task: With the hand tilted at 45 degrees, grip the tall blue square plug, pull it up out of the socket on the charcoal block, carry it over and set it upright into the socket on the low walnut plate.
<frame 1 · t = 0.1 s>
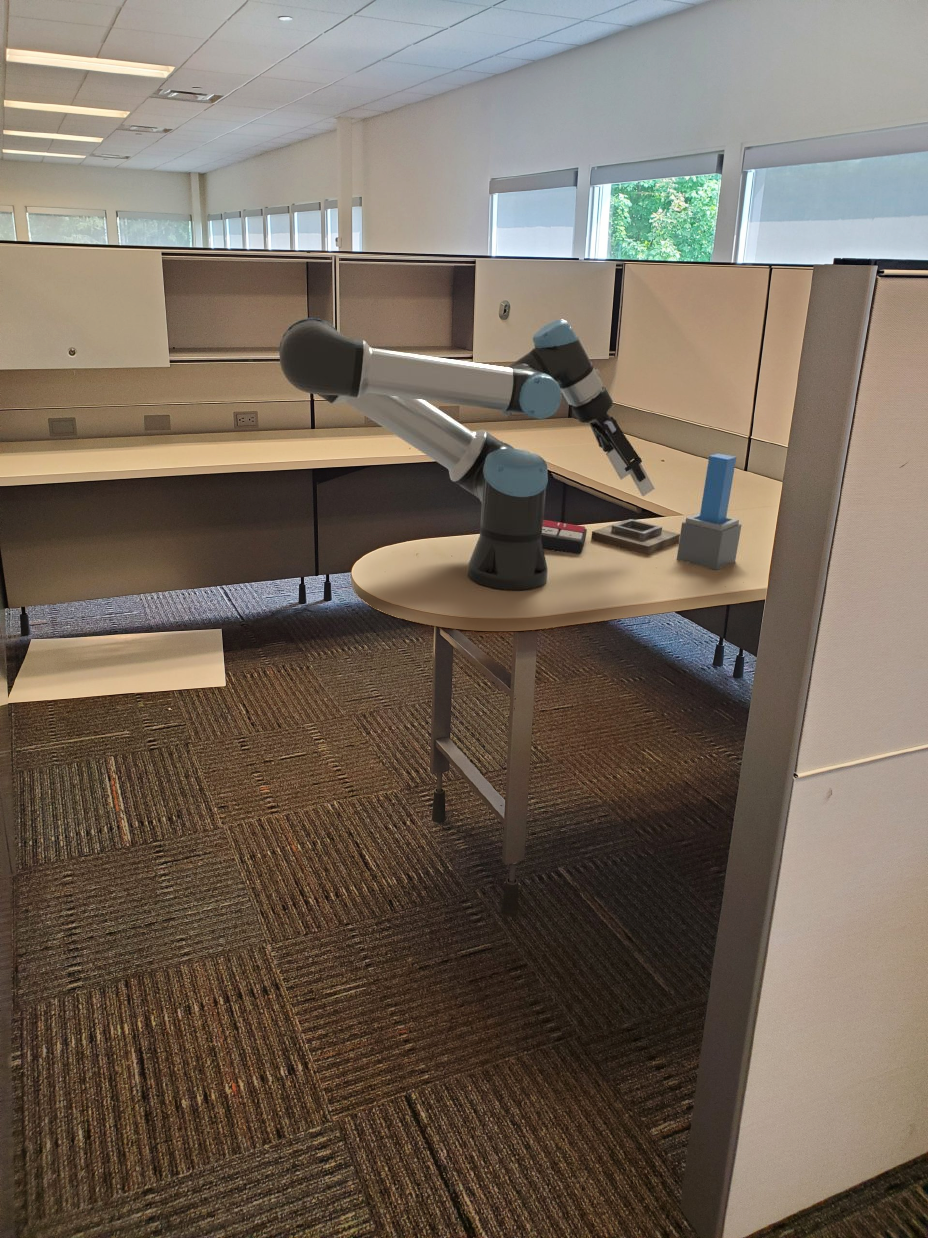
hand: (637, 483, 191), 15 cm above the table, tool tilted 35°, fingers open, 13 cm apart
upper socket block: (706, 560, 197), on the table
lower socket plate: (635, 541, 206), on the table
calculator: (548, 545, 202), on the table
plug: (711, 523, 194), point 8 cm above the table, touching upper socket block
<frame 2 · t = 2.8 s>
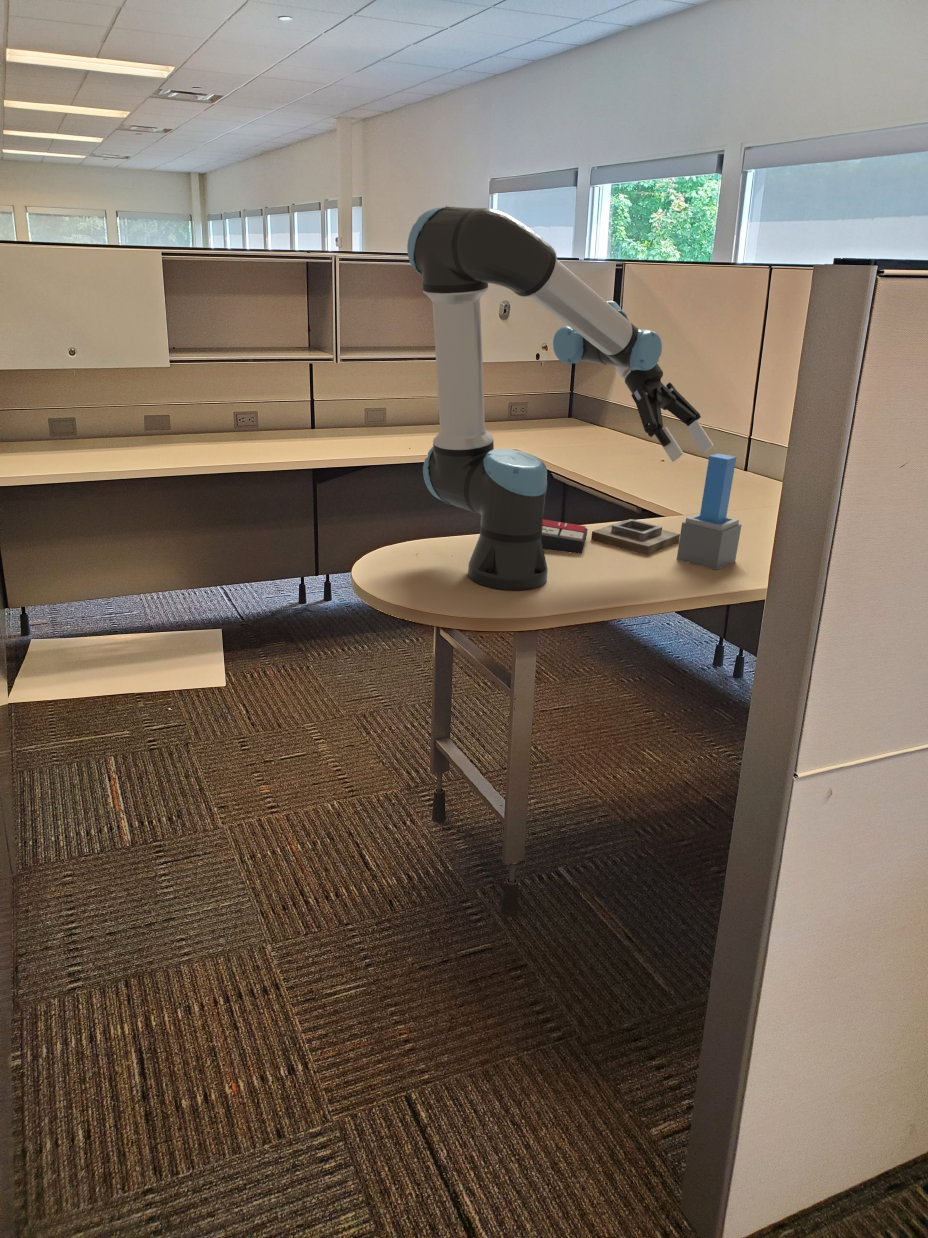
hand: (693, 453, 192), 21 cm above the table, tool tilted 45°, fingers open, 13 cm apart
nothing on the table moved.
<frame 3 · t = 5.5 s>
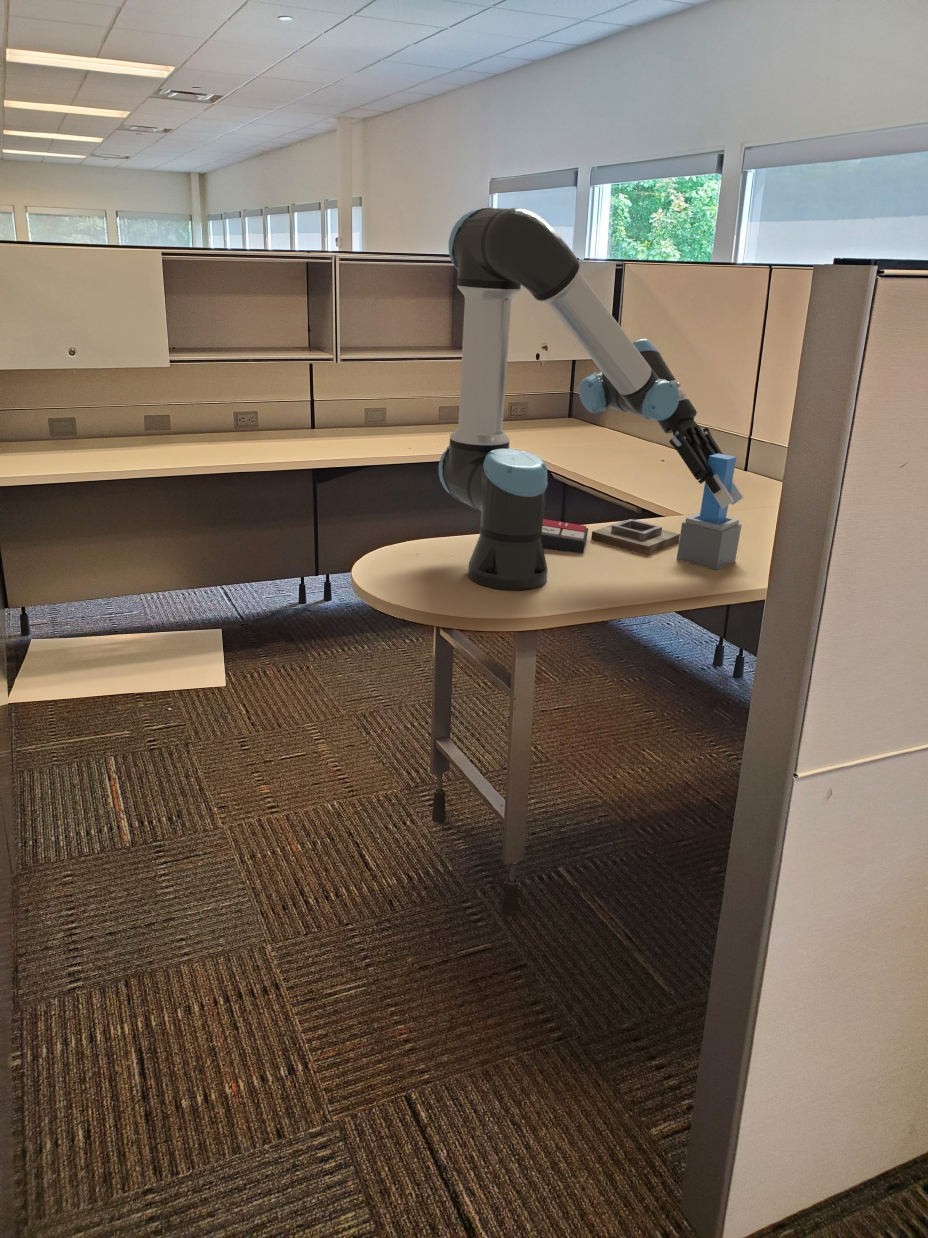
hand: (733, 502, 189), 13 cm above the table, tool tilted 45°, fingers closed on plug, 4 cm apart
plug: (711, 523, 194), point 8 cm above the table, touching gripper, upper socket block
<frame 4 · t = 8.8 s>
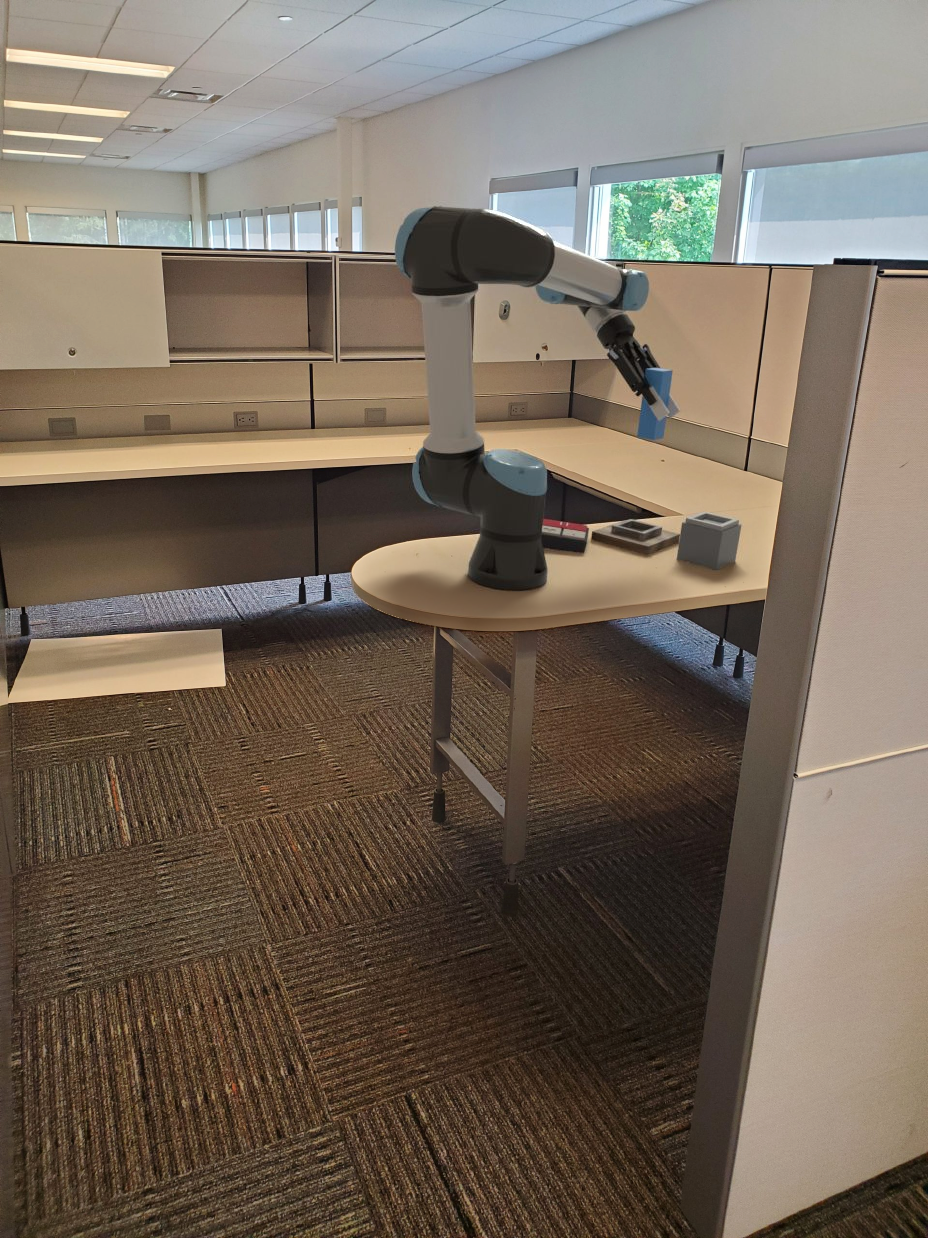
hand: (669, 415, 193), 28 cm above the table, tool tilted 45°, fingers closed on plug, 4 cm apart
plug: (650, 437, 197), point 23 cm above the table, touching gripper
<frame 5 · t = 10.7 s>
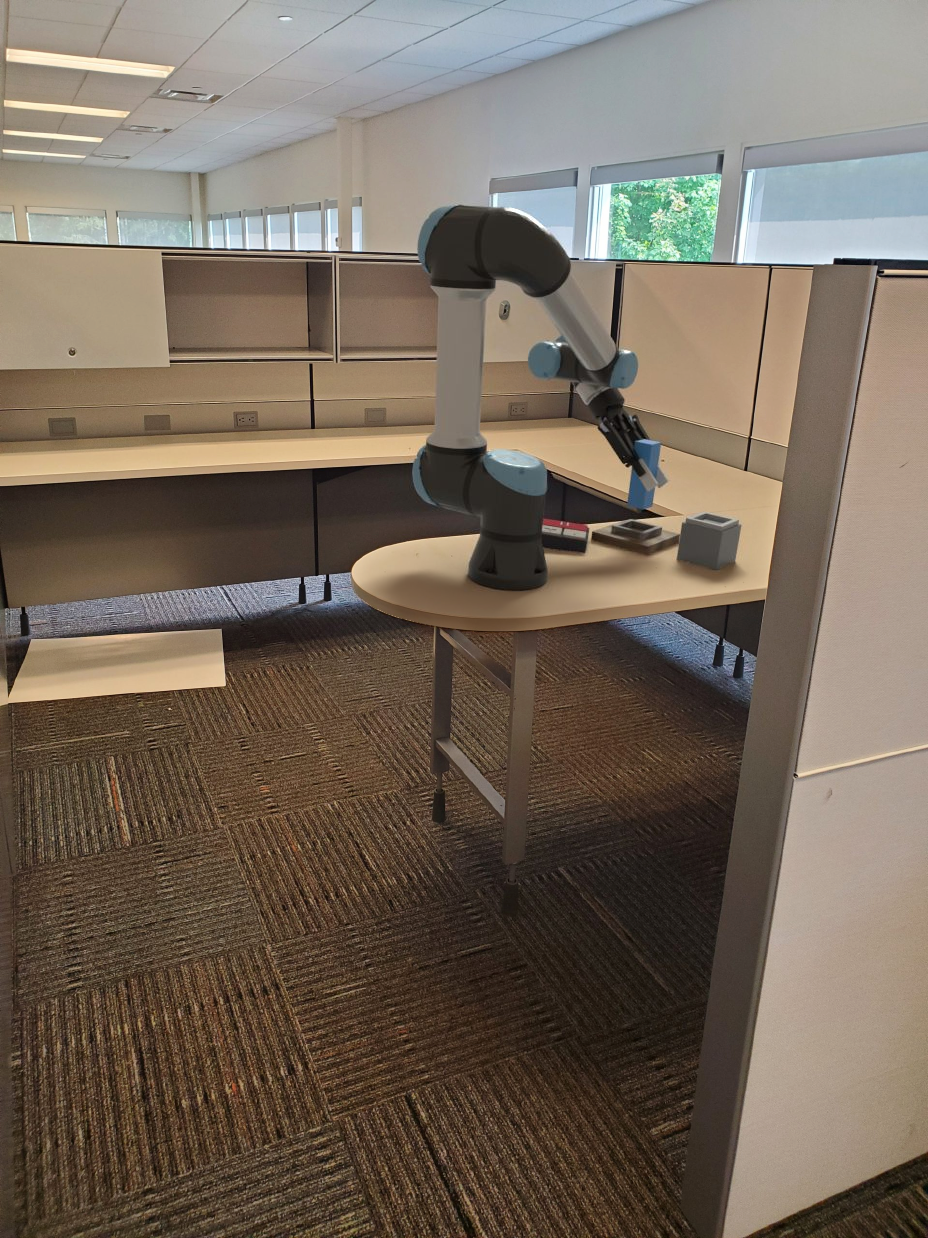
hand: (658, 485, 199), 13 cm above the table, tool tilted 45°, fingers closed on plug, 4 cm apart
plug: (639, 506, 203), point 8 cm above the table, touching gripper
when the fingers open (8 cm above the table, at t = 12.4 s): plug stays where it is, resting on lower socket plate.
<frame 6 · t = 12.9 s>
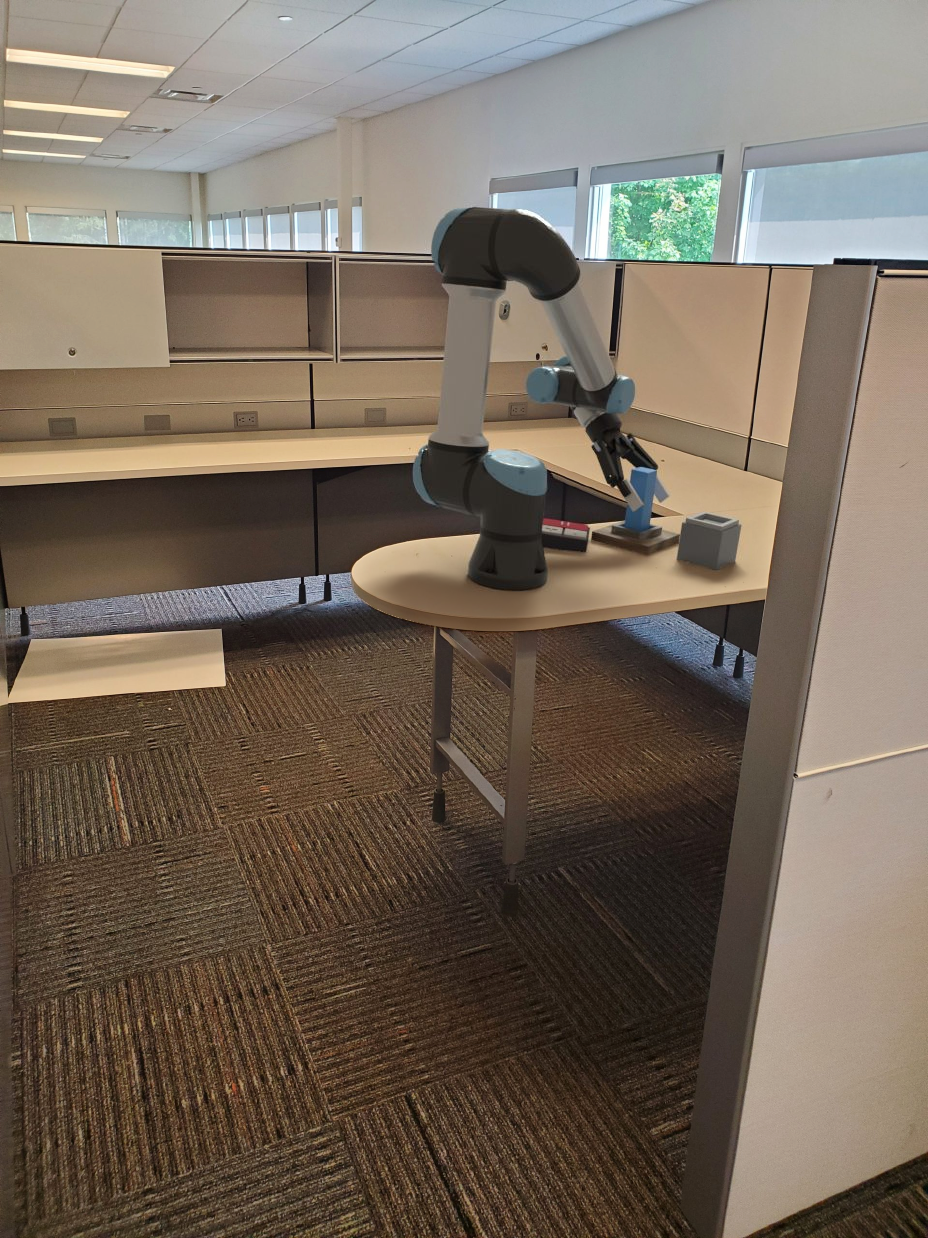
hand: (652, 503, 201), 9 cm above the table, tool tilted 45°, fingers open, 11 cm apart
plug: (636, 532, 206), point 2 cm above the table, touching lower socket plate
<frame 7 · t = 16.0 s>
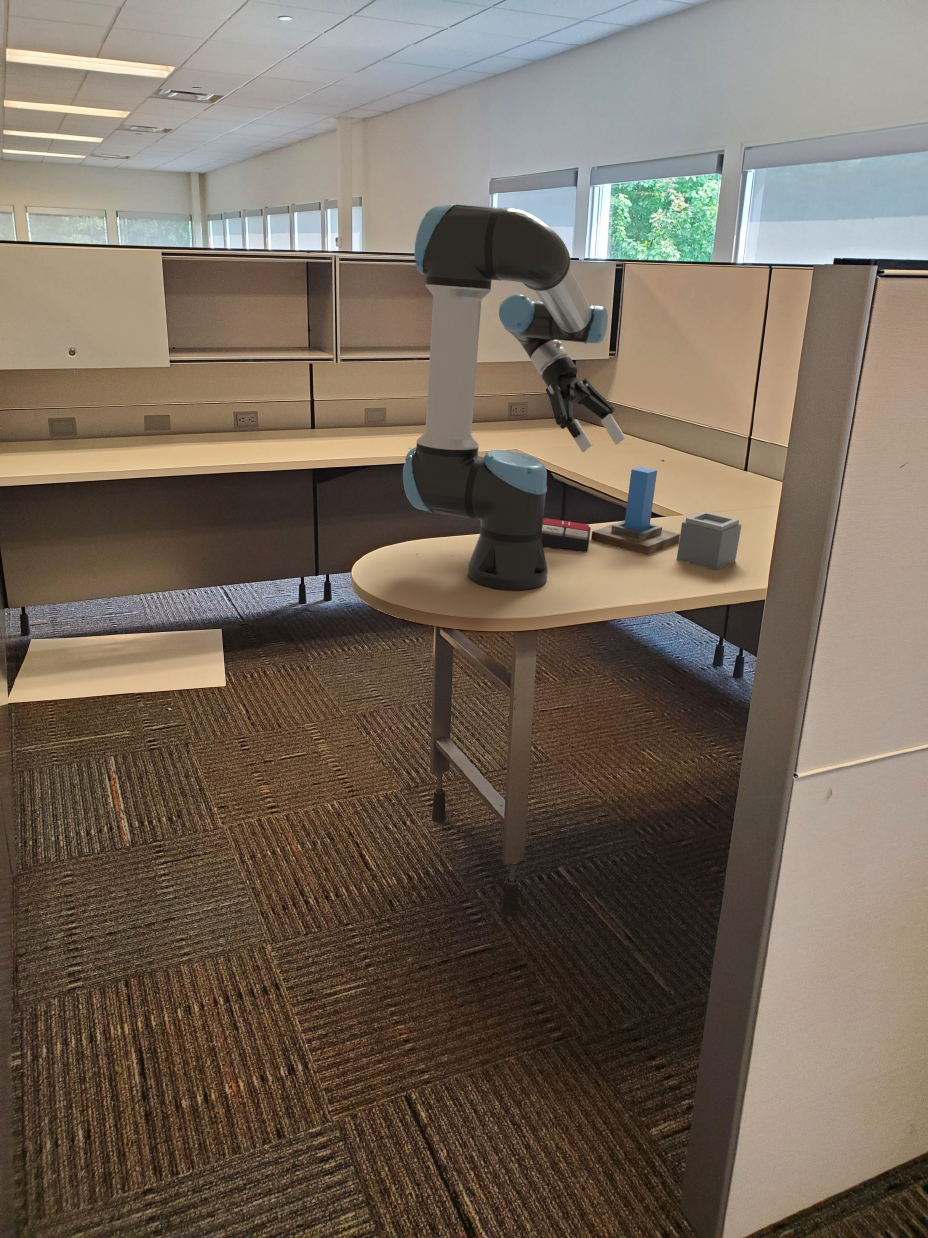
hand: (604, 444, 205), 20 cm above the table, tool tilted 45°, fingers open, 13 cm apart
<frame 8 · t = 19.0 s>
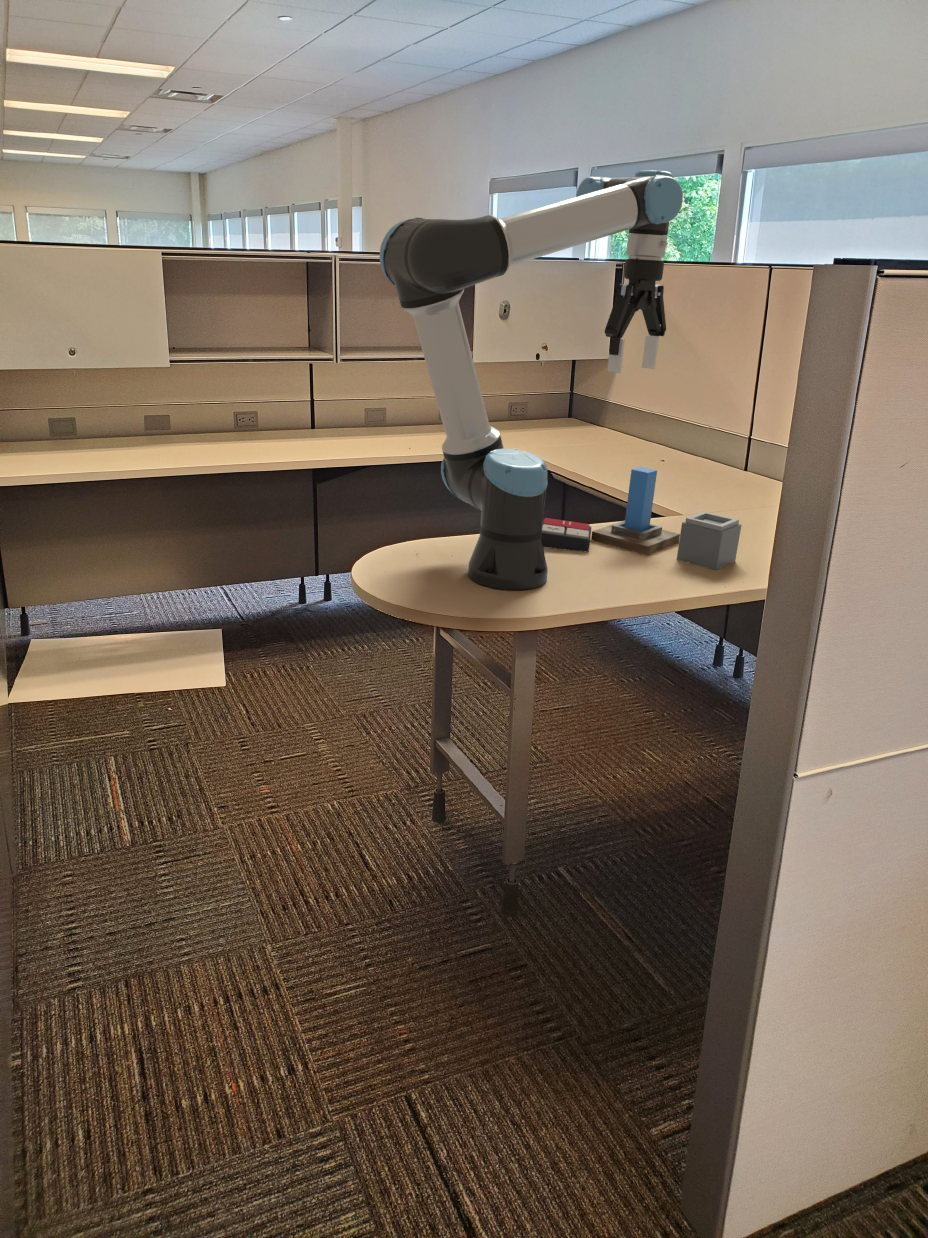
hand: (631, 370, 191), 37 cm above the table, tool pointing down, fingers open, 13 cm apart
at the end: plug 0.0 cm off-centre on the lower socket plate, point 2.0 cm above the lower socket plate's base; plug tilted 0°; the gripper is holding nothing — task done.
